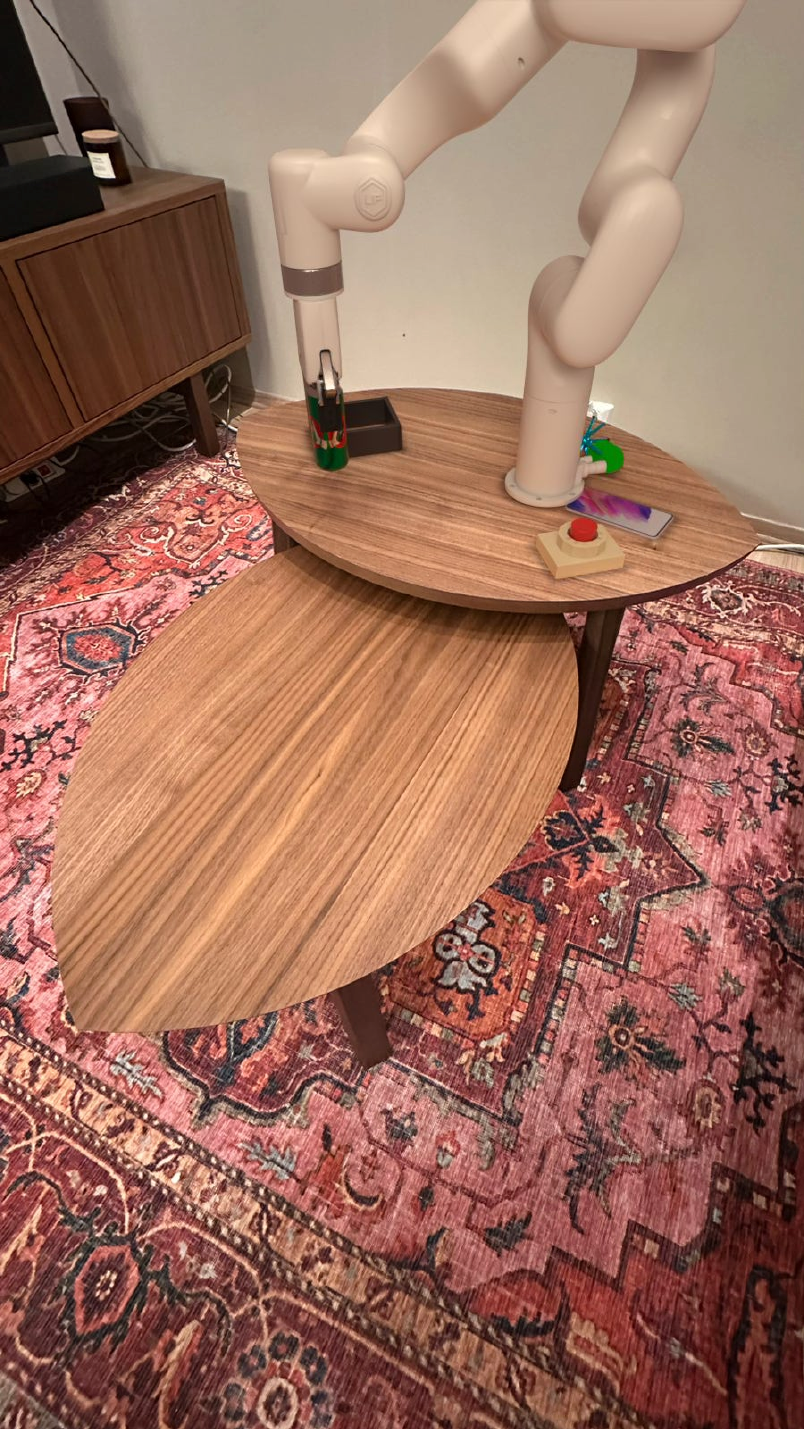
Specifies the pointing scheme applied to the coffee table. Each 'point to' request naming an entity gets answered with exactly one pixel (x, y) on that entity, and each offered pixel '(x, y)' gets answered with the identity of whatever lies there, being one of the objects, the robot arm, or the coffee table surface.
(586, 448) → the stick construction toy
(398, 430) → the brown can holder
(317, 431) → the soda can
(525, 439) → the robot arm
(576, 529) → the button
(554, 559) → the control block
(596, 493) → the smartphone
